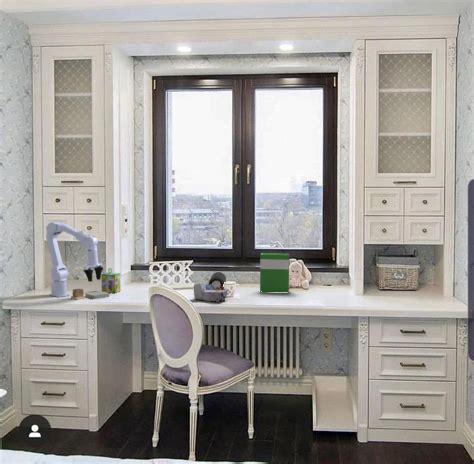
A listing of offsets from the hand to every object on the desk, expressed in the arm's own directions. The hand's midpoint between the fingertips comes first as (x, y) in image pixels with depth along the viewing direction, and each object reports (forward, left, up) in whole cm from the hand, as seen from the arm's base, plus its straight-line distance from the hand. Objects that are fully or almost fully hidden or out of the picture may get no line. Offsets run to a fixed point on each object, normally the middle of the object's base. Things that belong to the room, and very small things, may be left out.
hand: (94, 280), depth 341 cm
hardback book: (+59, +93, -11) cm, 110 cm away
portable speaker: (+28, +73, -11) cm, 79 cm away
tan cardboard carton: (-6, -7, -11) cm, 14 cm away
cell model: (+51, +46, -11) cm, 69 cm away
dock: (-3, +4, -10) cm, 11 cm away
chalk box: (-11, +19, -11) cm, 24 cm away
